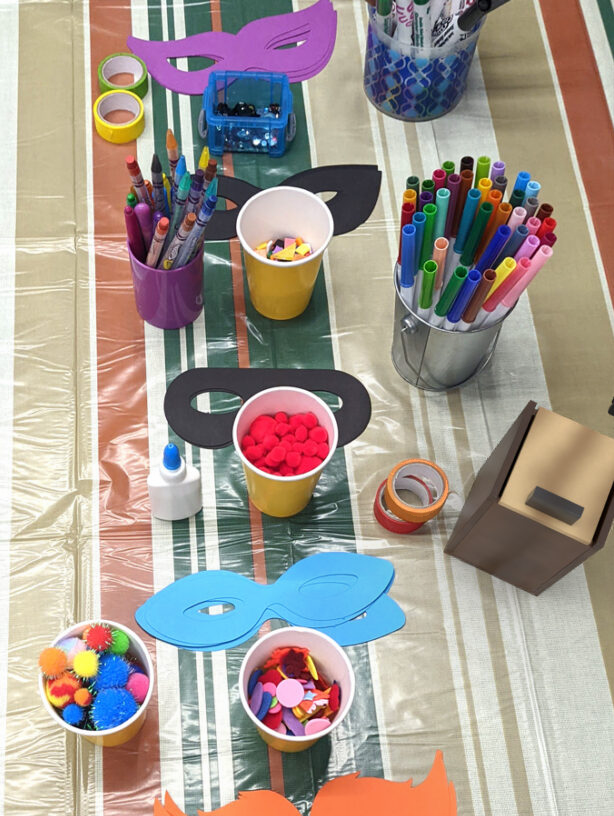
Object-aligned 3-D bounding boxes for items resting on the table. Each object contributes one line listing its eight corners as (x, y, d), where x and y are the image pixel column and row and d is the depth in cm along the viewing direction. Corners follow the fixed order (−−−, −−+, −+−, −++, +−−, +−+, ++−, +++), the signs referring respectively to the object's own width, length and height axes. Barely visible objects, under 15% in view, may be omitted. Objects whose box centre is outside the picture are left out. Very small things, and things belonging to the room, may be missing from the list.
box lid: (623, 447, 92) (637, 434, 89) (587, 545, 88) (601, 535, 85) (537, 409, 93) (548, 394, 90) (497, 503, 89) (507, 491, 86)
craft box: (569, 511, 109) (639, 448, 91) (536, 596, 104) (603, 547, 87) (479, 470, 110) (530, 399, 92) (443, 552, 106) (489, 494, 88)
